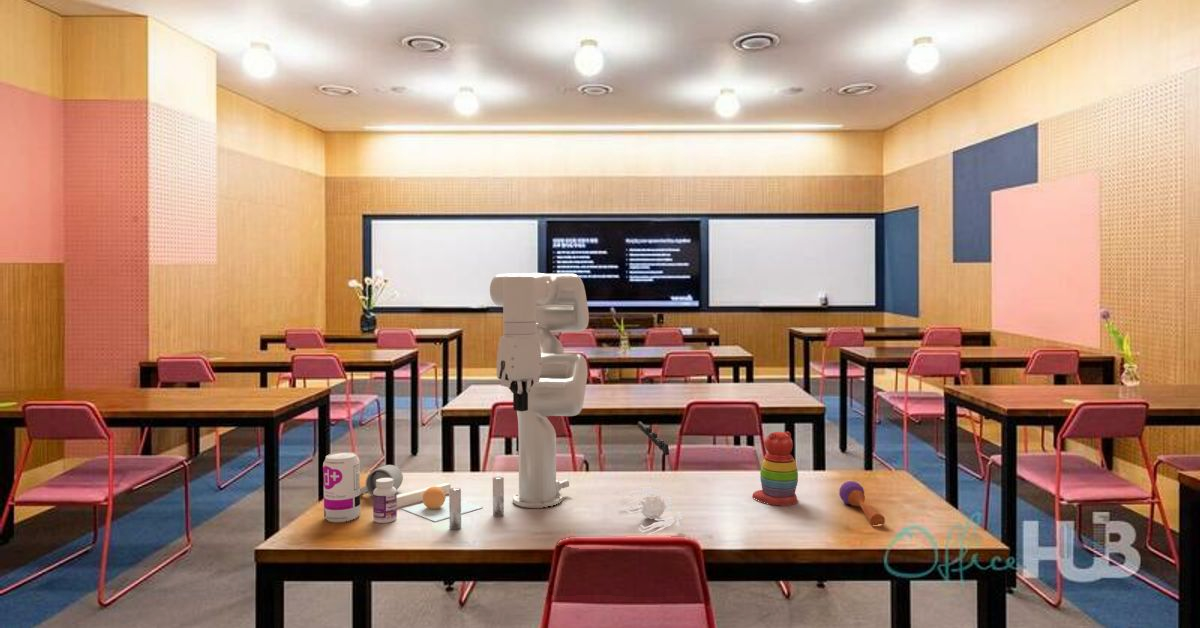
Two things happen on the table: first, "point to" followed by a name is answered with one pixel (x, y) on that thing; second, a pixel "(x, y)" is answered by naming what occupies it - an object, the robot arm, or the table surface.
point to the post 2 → (498, 496)
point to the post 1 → (455, 508)
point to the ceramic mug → (382, 472)
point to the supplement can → (341, 486)
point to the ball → (434, 497)
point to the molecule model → (651, 502)
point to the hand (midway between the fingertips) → (520, 410)
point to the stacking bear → (778, 471)
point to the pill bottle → (384, 501)
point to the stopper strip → (418, 495)
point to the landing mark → (439, 510)
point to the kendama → (859, 501)
